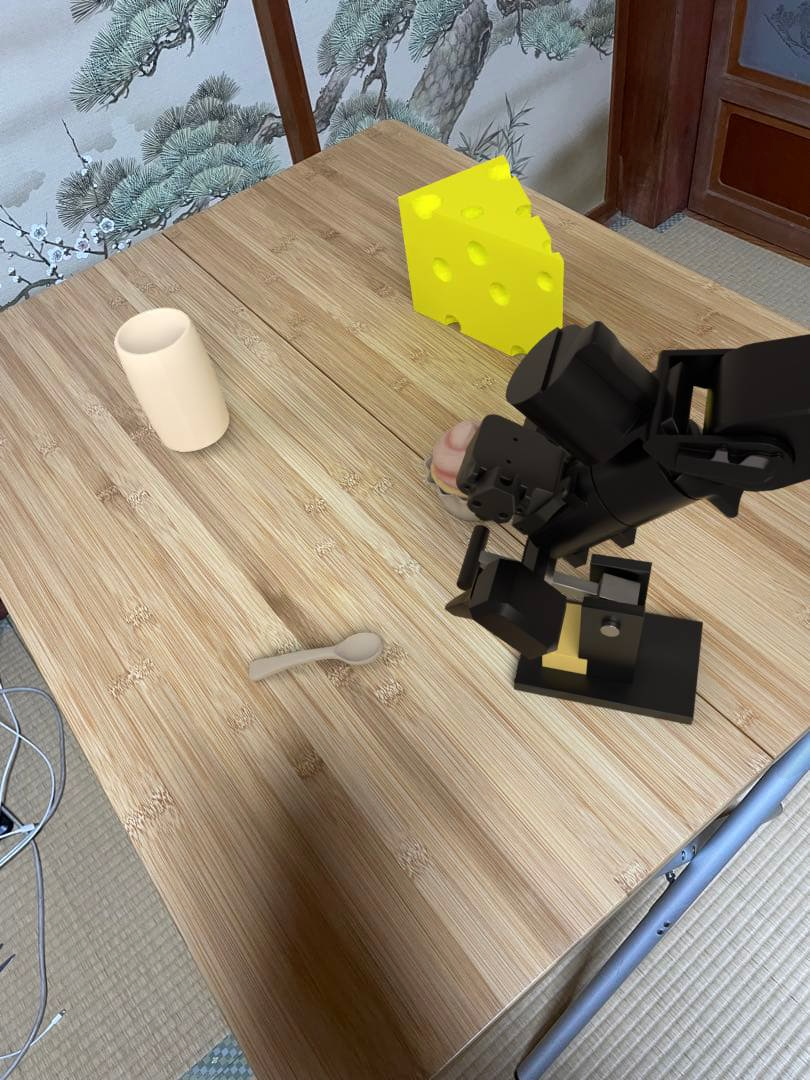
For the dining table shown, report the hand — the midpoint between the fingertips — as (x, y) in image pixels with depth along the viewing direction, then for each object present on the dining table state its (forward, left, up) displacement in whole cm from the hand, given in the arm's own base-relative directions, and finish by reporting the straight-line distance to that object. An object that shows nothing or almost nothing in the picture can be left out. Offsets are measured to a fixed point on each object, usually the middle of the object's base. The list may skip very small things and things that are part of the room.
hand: (464, 561), depth 64 cm
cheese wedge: (+15, -42, -11) cm, 45 cm away
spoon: (+12, +7, -11) cm, 17 cm away
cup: (+39, -14, -11) cm, 42 cm away
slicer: (-11, -2, -10) cm, 16 cm away
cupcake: (+6, -15, -11) cm, 19 cm away
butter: (-8, -1, -9) cm, 13 cm away
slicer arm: (-6, -1, -2) cm, 6 cm away
